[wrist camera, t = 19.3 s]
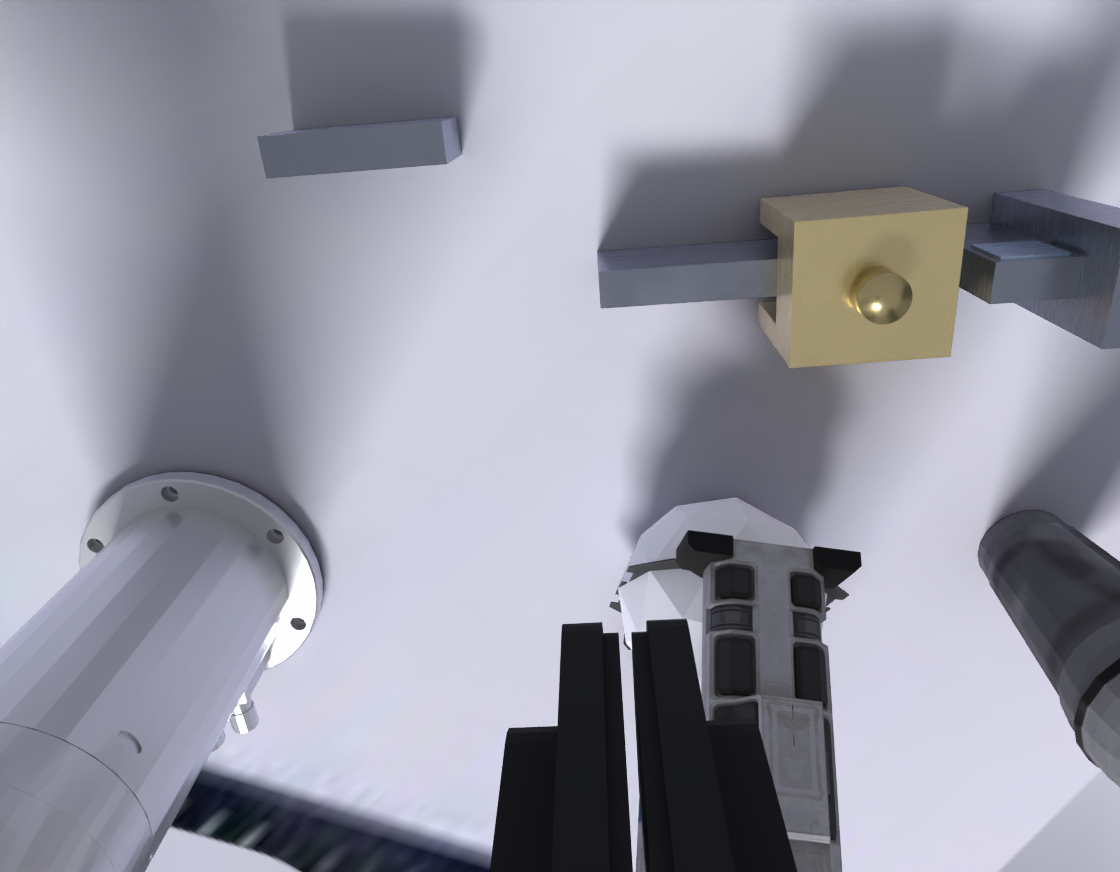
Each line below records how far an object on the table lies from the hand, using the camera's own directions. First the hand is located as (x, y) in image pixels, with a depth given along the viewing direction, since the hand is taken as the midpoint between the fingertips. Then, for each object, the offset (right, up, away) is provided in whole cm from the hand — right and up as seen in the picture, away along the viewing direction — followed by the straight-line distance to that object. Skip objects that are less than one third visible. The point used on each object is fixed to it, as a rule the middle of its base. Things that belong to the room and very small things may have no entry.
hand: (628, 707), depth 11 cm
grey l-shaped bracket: (+10, +12, +24) cm, 29 cm away
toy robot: (+6, -6, +32) cm, 34 cm away
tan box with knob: (+11, +12, +24) cm, 28 cm away
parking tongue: (-9, +16, +23) cm, 29 cm away
